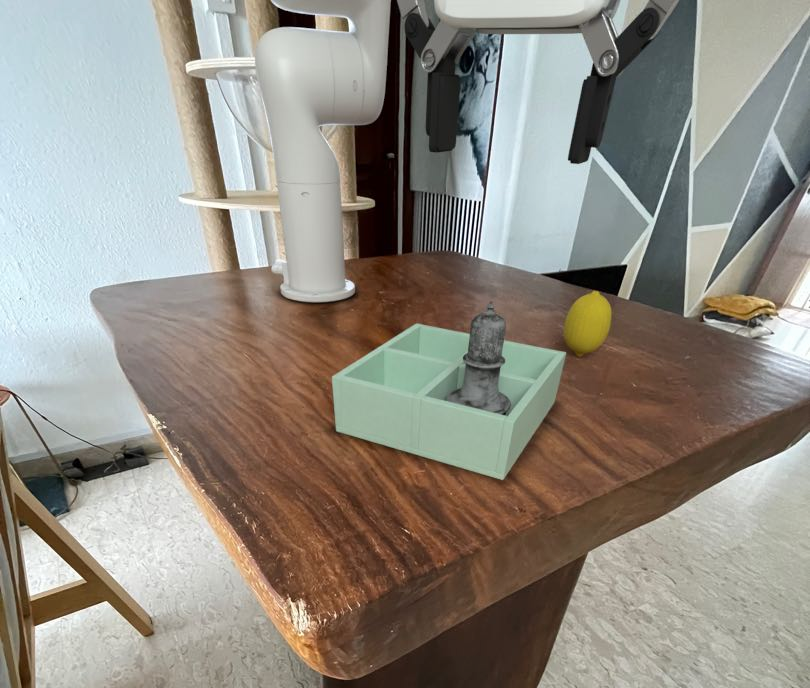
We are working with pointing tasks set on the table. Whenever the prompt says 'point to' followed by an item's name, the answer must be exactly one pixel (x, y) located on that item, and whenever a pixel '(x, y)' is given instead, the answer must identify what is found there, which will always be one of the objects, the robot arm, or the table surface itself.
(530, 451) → the table surface
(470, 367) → the salt shaker
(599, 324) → the lemon
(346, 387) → the box
